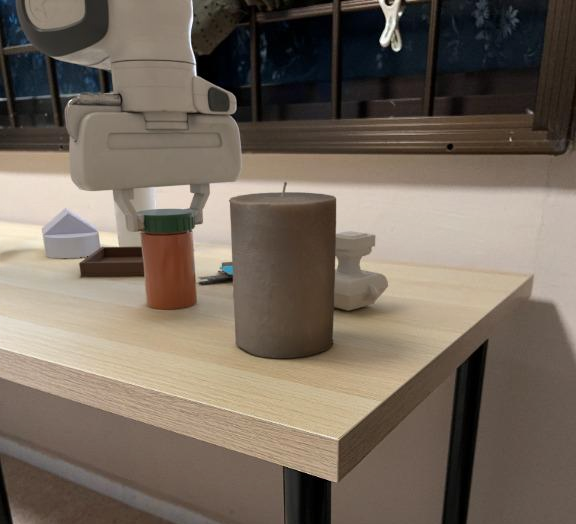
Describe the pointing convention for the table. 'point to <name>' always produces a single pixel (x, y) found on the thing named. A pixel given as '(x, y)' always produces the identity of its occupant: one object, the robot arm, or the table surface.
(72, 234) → the wedge on round base
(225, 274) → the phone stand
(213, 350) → the table surface
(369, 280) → the stamp
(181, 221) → the jar lid
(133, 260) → the tray
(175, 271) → the jar
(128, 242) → the cylindrical container
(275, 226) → the pillar candle
